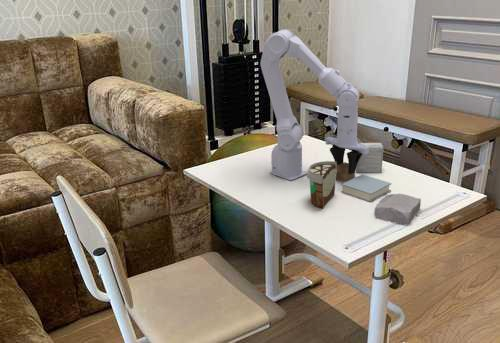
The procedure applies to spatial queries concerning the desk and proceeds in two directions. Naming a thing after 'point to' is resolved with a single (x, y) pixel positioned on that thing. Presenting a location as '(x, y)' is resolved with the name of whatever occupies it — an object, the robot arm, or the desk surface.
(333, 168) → the food container
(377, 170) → the medicine box
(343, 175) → the walnut block
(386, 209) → the stone block
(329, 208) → the desk surface
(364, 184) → the book
